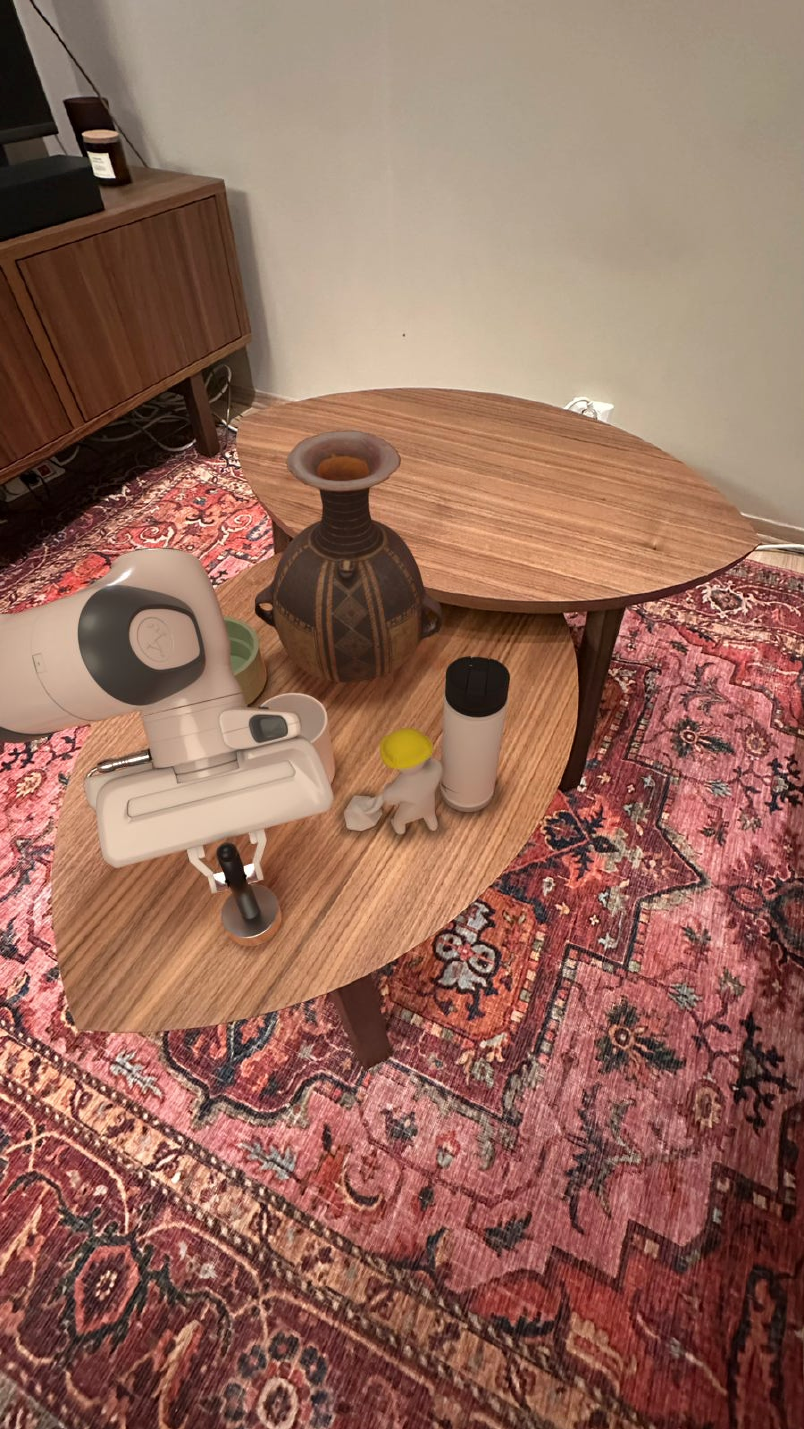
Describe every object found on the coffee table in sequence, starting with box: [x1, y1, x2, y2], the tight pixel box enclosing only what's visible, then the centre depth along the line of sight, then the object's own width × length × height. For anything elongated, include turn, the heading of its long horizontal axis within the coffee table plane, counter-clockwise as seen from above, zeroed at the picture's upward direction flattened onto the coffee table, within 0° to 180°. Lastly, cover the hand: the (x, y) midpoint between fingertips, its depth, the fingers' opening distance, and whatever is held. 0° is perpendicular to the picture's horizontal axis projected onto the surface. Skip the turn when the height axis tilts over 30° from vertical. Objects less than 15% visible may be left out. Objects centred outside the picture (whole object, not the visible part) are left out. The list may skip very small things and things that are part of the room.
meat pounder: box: [215, 841, 283, 947], centre depth 63 cm, size 6×6×14 cm
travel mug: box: [439, 655, 511, 813], centre depth 72 cm, size 6×7×20 cm
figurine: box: [343, 727, 443, 835], centre depth 72 cm, size 10×9×15 cm
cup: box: [260, 692, 336, 785], centre depth 77 cm, size 8×12×10 cm
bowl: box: [180, 616, 268, 707], centre depth 89 cm, size 12×12×6 cm
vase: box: [254, 429, 443, 684], centre depth 83 cm, size 23×19×30 cm
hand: (238, 885), depth 61 cm, fingers closed on meat pounder
